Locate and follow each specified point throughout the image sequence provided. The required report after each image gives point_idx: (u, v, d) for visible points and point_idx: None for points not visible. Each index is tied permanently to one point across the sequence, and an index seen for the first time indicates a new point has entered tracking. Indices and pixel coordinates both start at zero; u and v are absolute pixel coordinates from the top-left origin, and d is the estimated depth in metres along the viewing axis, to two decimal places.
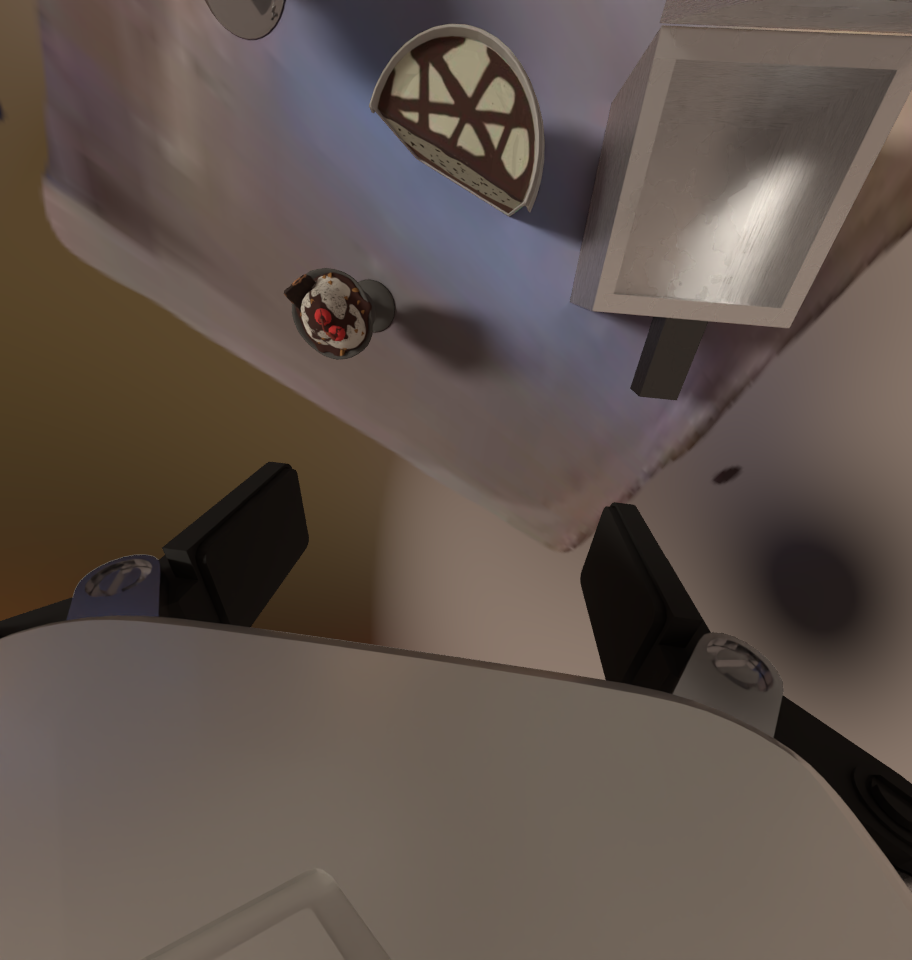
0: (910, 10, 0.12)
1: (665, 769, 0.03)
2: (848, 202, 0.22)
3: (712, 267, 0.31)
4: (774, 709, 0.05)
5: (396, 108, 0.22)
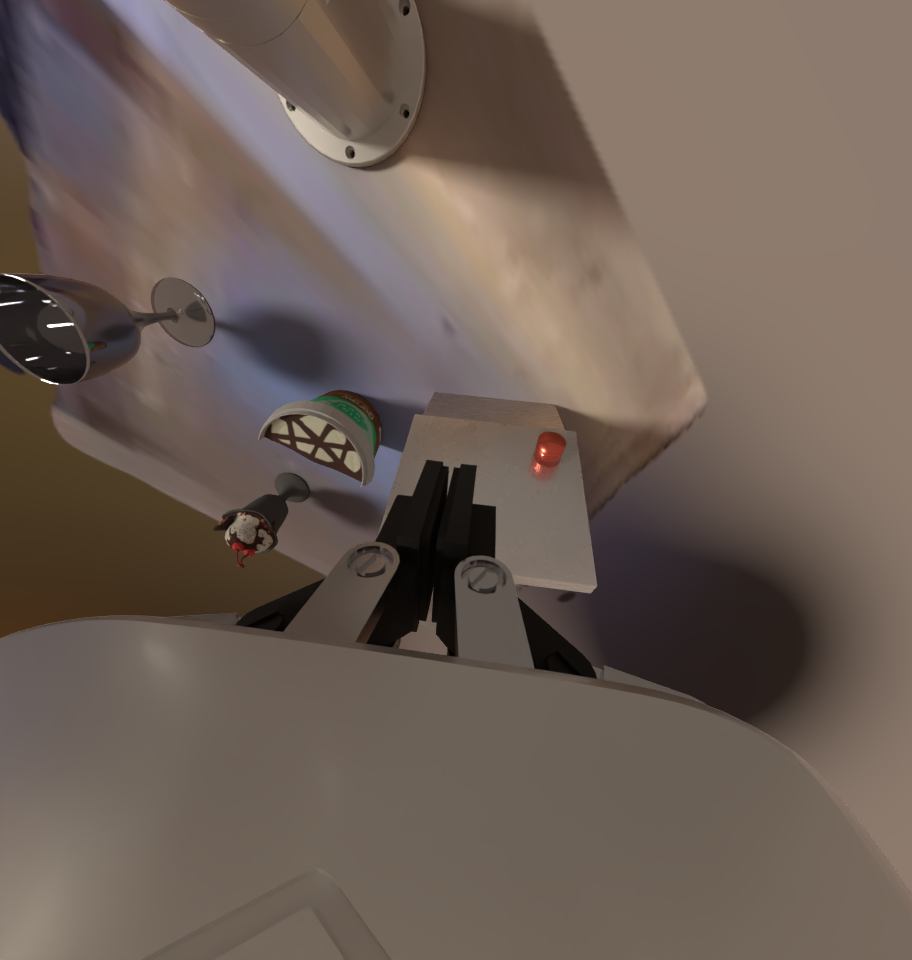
0: None
1: (665, 769, 0.03)
2: None
3: None
4: (514, 594, 0.07)
5: (275, 437, 0.36)
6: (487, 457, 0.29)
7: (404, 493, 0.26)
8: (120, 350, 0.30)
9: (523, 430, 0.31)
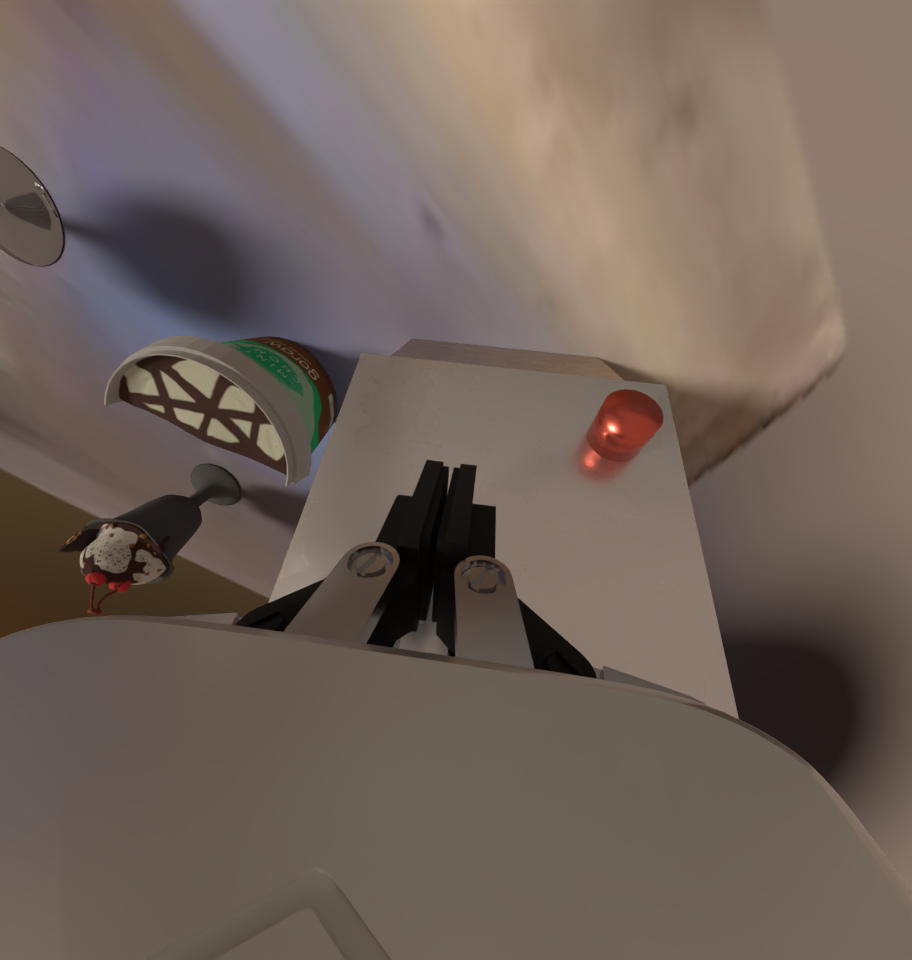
0: None
1: (665, 769, 0.03)
2: None
3: None
4: (513, 594, 0.07)
5: (139, 401, 0.21)
6: (496, 442, 0.15)
7: (325, 526, 0.13)
8: None
9: (566, 383, 0.16)
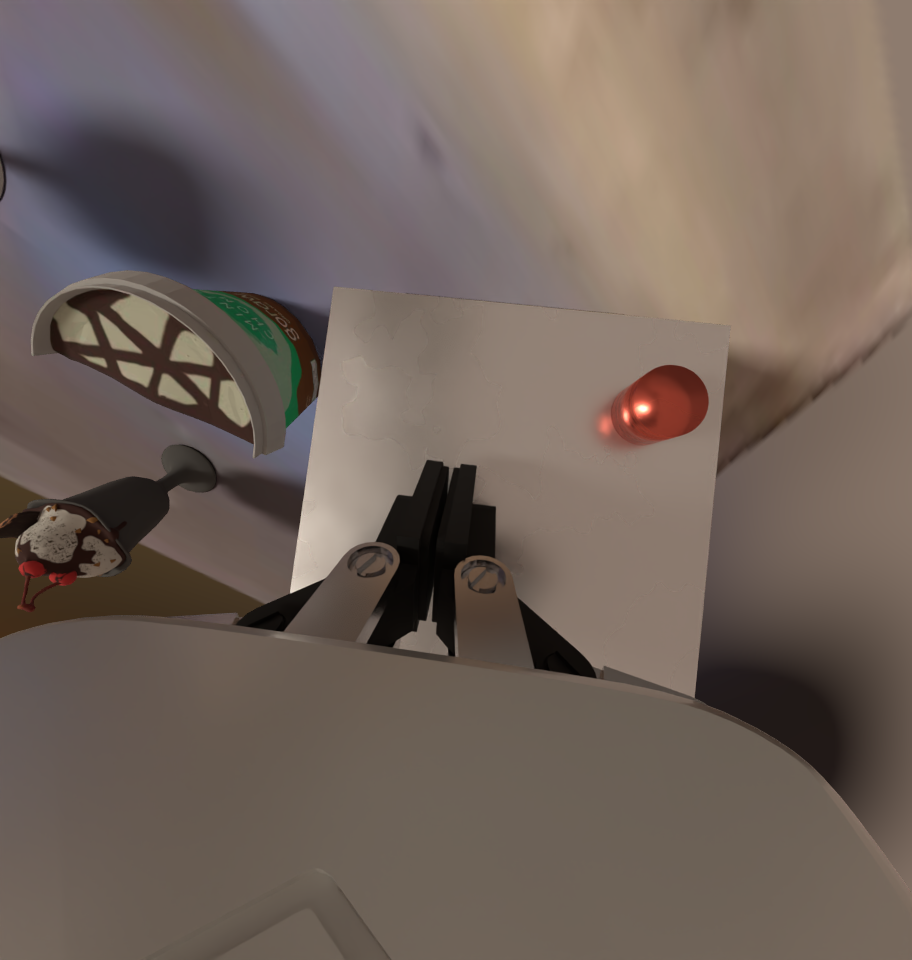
0: None
1: (665, 769, 0.03)
2: None
3: None
4: (513, 594, 0.07)
5: (76, 353, 0.18)
6: (502, 421, 0.13)
7: (327, 527, 0.13)
8: None
9: (596, 329, 0.13)
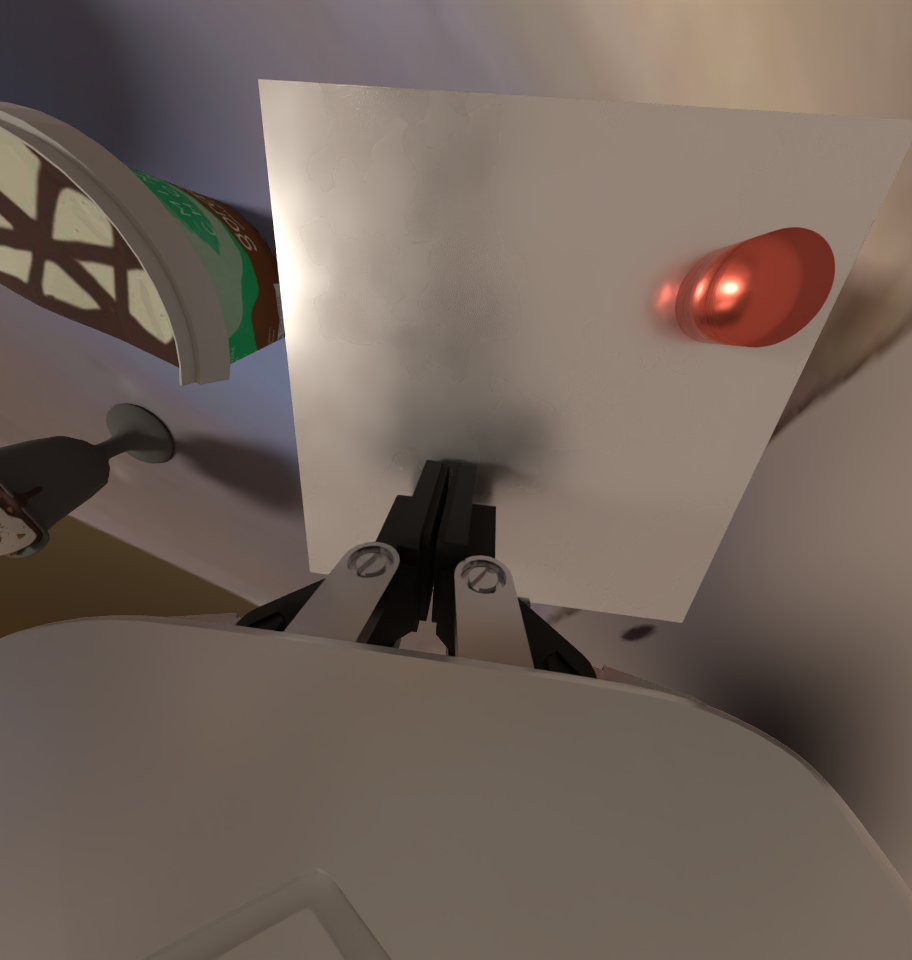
0: None
1: (665, 769, 0.03)
2: None
3: None
4: (514, 594, 0.07)
5: None
6: (524, 314, 0.10)
7: (326, 448, 0.12)
8: None
9: (685, 143, 0.08)
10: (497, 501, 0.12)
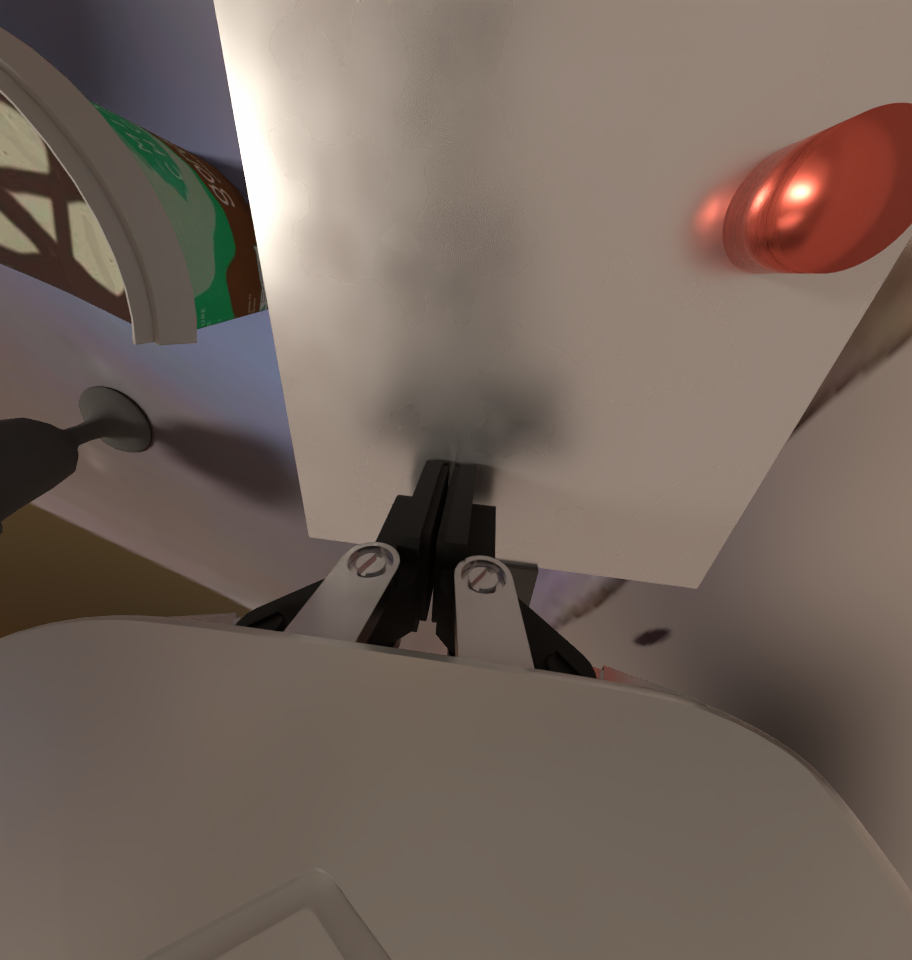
0: None
1: (665, 769, 0.03)
2: None
3: None
4: (514, 594, 0.07)
5: None
6: (540, 240, 0.08)
7: (317, 405, 0.11)
8: None
9: None
10: (505, 462, 0.11)
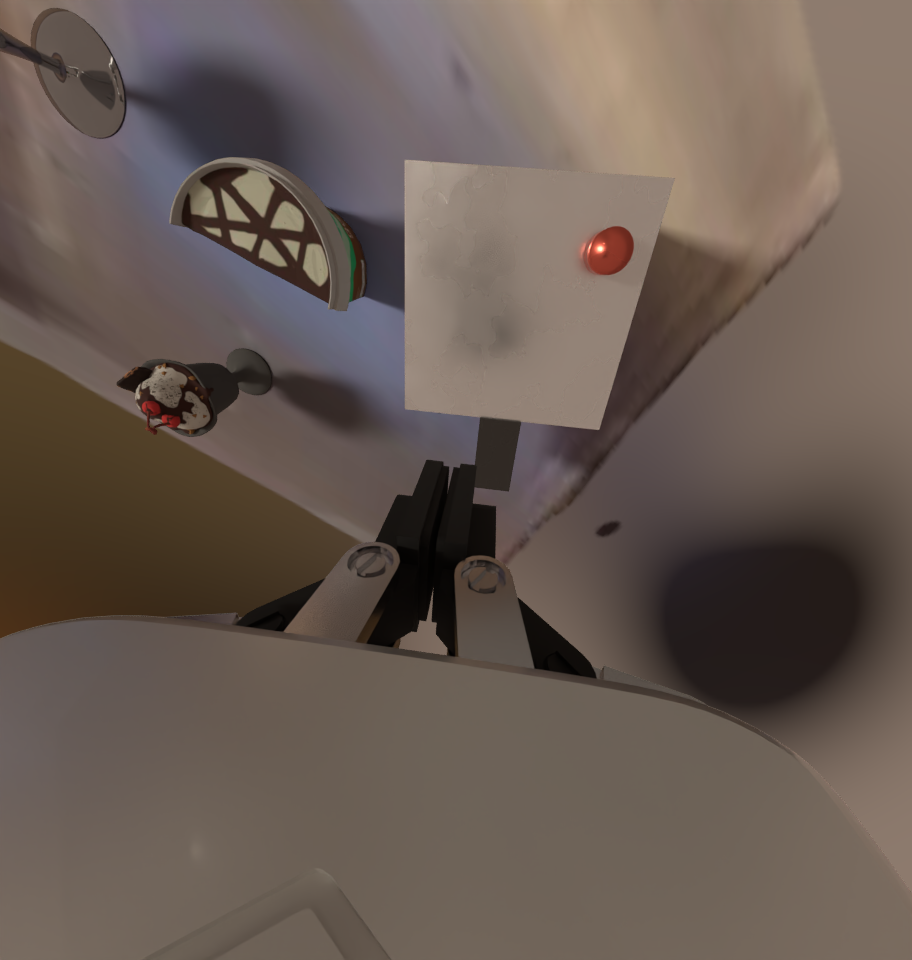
0: None
1: (665, 769, 0.03)
2: None
3: None
4: (513, 594, 0.07)
5: (199, 224, 0.24)
6: (517, 262, 0.21)
7: (419, 334, 0.24)
8: None
9: (582, 186, 0.19)
10: (504, 361, 0.24)
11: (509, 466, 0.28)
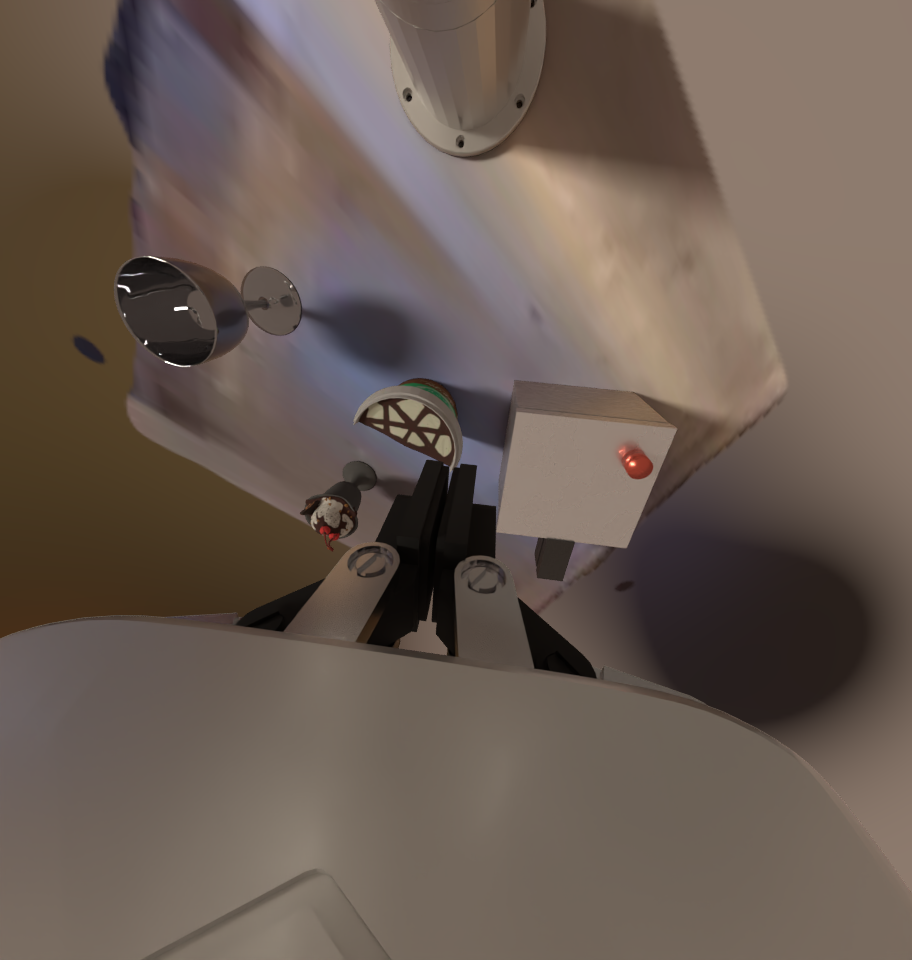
0: None
1: (665, 769, 0.03)
2: None
3: None
4: (514, 594, 0.07)
5: (370, 422, 0.37)
6: (579, 461, 0.34)
7: (512, 493, 0.37)
8: (236, 333, 0.31)
9: (622, 429, 0.32)
10: (566, 509, 0.37)
11: (564, 566, 0.41)
